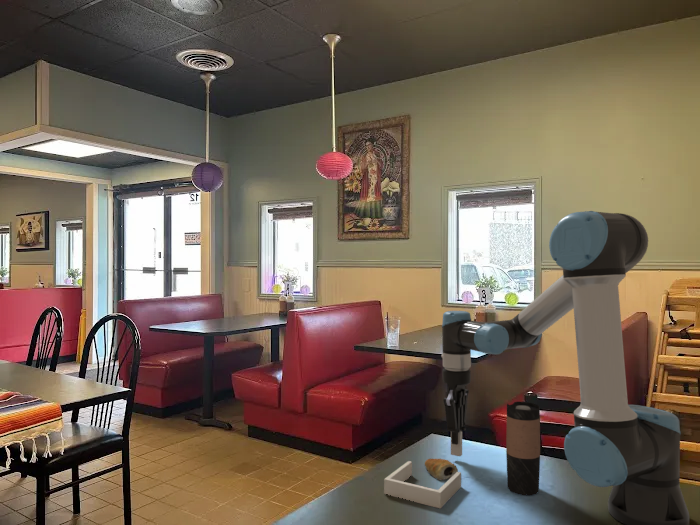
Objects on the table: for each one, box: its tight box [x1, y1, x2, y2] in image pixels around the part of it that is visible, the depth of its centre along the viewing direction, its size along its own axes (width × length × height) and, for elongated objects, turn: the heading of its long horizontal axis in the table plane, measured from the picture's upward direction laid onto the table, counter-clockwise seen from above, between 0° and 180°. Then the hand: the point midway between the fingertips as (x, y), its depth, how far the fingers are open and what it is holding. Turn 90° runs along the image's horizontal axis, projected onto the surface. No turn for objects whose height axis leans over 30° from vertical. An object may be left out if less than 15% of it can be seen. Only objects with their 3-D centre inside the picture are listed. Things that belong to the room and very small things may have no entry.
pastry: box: [424, 458, 459, 481], centre depth 139 cm, size 9×7×4 cm
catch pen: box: [383, 460, 462, 509], centre depth 128 cm, size 14×13×4 cm
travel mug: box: [505, 401, 541, 497], centre depth 128 cm, size 8×8×20 cm
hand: (456, 454), depth 147 cm, fingers closed
